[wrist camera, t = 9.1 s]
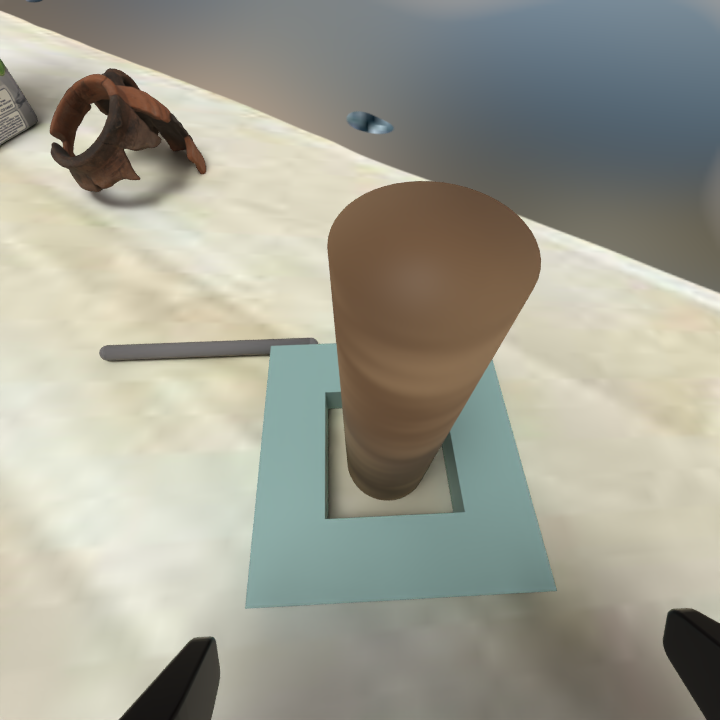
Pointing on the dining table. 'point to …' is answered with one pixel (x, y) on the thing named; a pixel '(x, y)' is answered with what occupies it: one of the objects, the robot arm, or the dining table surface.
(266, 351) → the grey thin rod
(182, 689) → the robot arm
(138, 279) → the dining table surface
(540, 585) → the square ring
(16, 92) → the juice carton
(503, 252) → the dowel
